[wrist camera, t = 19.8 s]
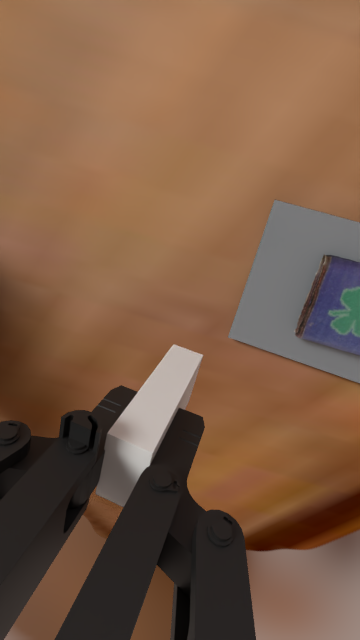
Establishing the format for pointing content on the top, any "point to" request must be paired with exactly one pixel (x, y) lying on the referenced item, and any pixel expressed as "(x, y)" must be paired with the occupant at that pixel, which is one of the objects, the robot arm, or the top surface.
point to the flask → (333, 306)
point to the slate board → (294, 285)
